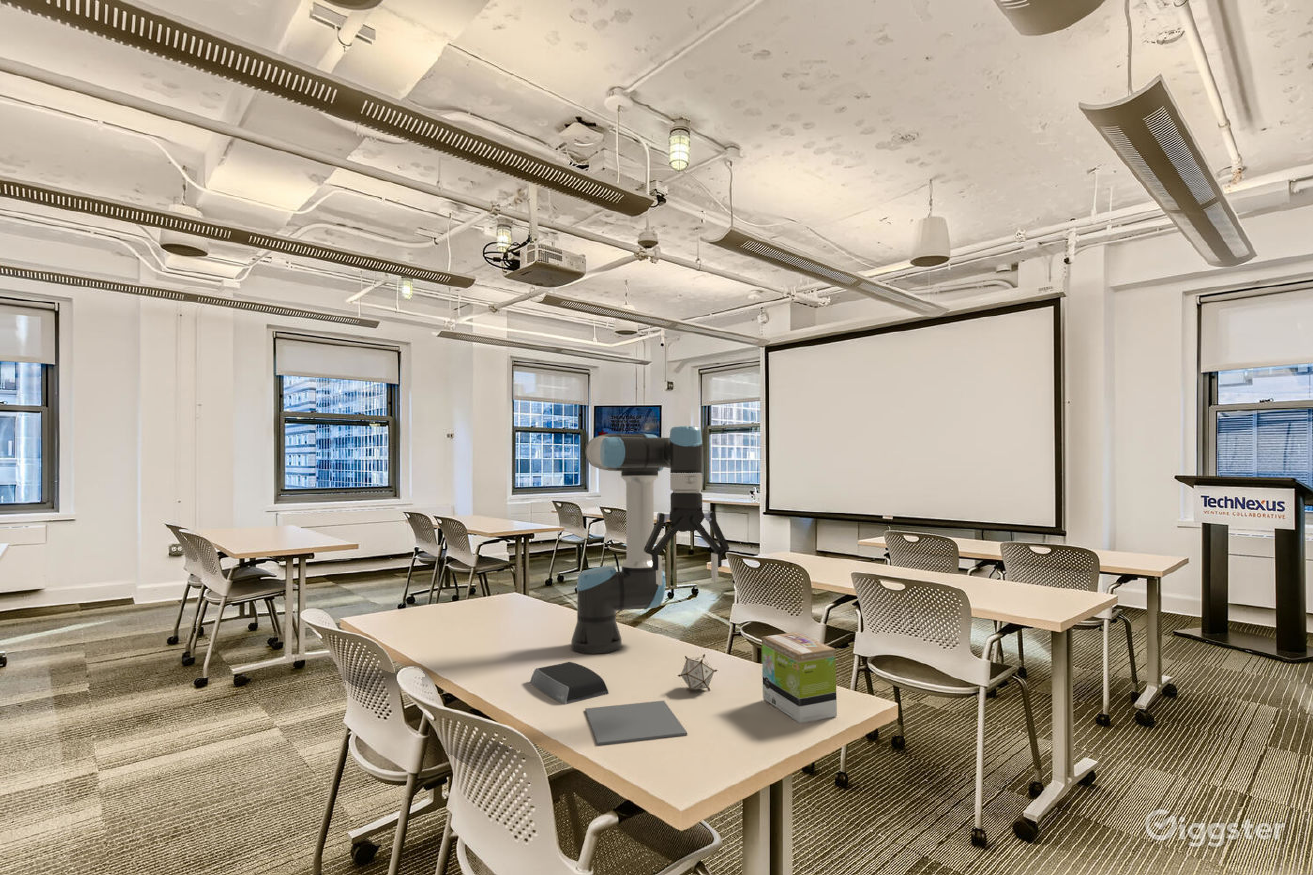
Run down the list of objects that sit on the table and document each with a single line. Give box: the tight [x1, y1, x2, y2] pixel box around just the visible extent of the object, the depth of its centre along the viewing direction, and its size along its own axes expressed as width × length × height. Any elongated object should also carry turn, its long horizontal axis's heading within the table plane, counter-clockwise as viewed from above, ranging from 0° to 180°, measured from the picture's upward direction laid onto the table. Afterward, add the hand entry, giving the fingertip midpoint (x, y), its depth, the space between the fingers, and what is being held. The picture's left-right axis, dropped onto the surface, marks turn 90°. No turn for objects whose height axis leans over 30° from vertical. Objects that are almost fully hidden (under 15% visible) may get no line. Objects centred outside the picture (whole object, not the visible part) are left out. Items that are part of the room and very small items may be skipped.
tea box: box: [761, 631, 838, 724], centre depth 137 cm, size 15×10×15 cm, turn 22°
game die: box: [677, 653, 718, 694], centre depth 149 cm, size 9×8×10 cm
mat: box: [584, 700, 688, 746], centre depth 129 cm, size 18×18×1 cm
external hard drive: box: [530, 661, 609, 705], centre depth 151 cm, size 13×19×4 cm
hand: (687, 583), depth 144 cm, fingers open, 13 cm apart
